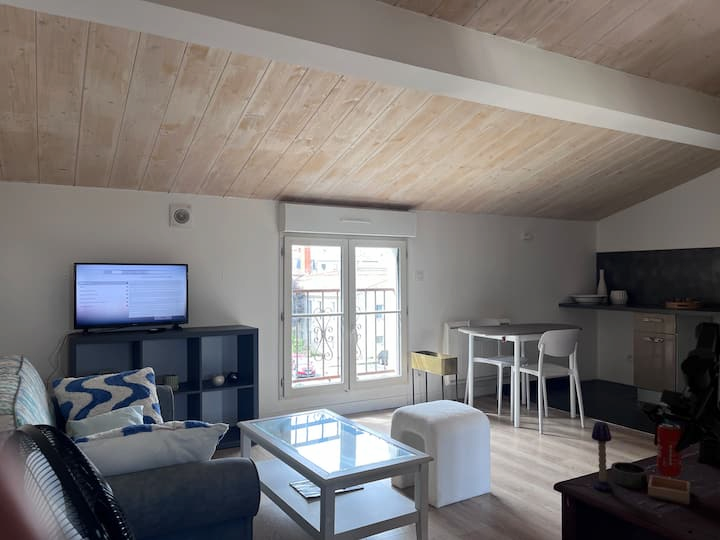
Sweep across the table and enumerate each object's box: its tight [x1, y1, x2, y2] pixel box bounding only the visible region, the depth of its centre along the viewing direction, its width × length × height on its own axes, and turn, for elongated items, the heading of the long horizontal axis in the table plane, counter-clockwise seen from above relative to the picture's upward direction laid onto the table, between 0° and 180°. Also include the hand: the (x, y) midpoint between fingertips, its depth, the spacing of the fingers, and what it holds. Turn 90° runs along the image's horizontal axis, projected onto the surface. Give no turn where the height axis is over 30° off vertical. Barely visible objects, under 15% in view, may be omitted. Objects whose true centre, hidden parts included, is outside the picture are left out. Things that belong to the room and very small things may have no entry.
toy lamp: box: [591, 421, 613, 493], centre depth 138 cm, size 5×5×17 cm
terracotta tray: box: [647, 474, 691, 505], centre depth 135 cm, size 9×9×2 cm
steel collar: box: [610, 461, 649, 489], centre depth 143 cm, size 8×8×4 cm
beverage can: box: [656, 422, 683, 478], centre depth 135 cm, size 5×5×12 cm
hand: (665, 448), depth 135 cm, fingers closed on beverage can, 5 cm apart
